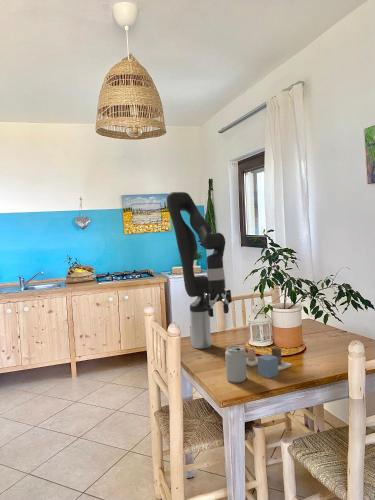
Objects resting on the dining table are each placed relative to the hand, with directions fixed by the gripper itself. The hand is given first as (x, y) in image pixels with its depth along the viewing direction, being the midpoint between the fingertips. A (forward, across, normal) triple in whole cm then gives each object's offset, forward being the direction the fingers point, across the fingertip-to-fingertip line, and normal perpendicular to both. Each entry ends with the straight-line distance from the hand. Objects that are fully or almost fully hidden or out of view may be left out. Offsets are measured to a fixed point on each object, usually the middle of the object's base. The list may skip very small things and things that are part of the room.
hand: (218, 314), depth 173 cm
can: (+19, +15, +25) cm, 34 cm away
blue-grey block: (+19, +3, +30) cm, 35 cm away
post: (+18, -6, +26) cm, 33 cm away
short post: (+18, -2, +16) cm, 24 cm away
